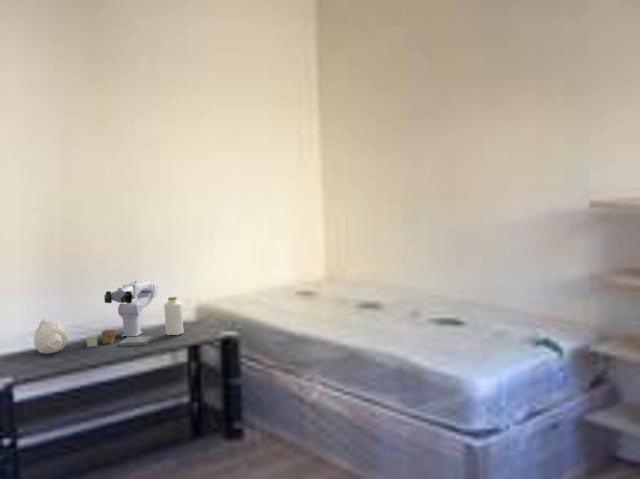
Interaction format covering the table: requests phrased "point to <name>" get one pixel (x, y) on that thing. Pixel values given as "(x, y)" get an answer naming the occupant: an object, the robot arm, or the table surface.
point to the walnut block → (108, 336)
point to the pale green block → (91, 340)
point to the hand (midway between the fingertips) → (113, 300)
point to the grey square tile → (135, 341)
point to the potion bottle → (173, 317)
